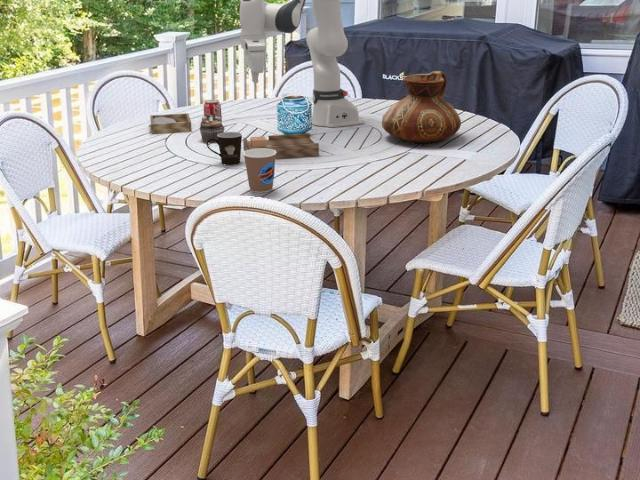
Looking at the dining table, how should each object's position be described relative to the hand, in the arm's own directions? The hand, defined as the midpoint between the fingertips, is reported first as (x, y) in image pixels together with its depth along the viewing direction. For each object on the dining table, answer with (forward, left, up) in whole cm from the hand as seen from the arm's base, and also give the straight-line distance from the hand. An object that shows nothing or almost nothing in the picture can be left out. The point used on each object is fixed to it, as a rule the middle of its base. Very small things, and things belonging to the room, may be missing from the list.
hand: (255, 82), depth 286 cm
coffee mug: (+13, +14, -25) cm, 32 cm away
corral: (+30, -46, -25) cm, 60 cm away
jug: (-63, 0, -25) cm, 68 cm away
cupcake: (+15, -20, -25) cm, 36 cm away
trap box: (-8, +5, -25) cm, 27 cm away
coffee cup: (+6, +49, -25) cm, 56 cm away
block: (+1, +10, -22) cm, 24 cm away
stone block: (+32, -47, -26) cm, 62 cm away
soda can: (+13, -38, -25) cm, 47 cm away
